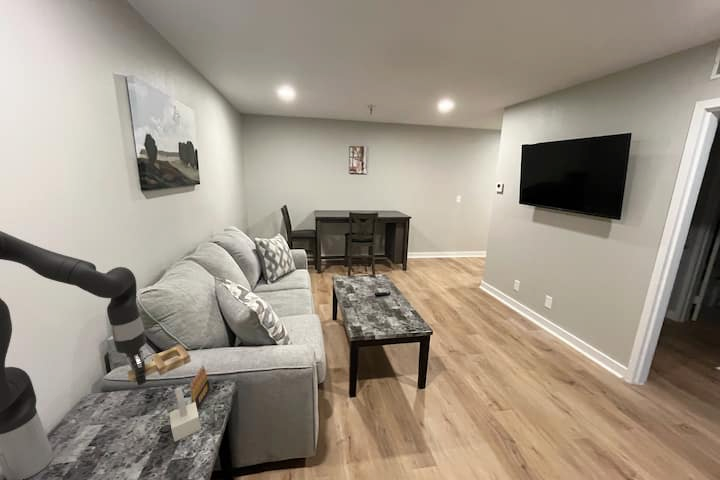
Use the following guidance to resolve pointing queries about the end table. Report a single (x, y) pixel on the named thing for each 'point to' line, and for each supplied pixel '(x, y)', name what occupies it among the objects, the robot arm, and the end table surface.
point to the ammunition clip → (199, 387)
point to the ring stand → (184, 418)
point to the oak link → (162, 367)
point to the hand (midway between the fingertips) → (140, 380)
